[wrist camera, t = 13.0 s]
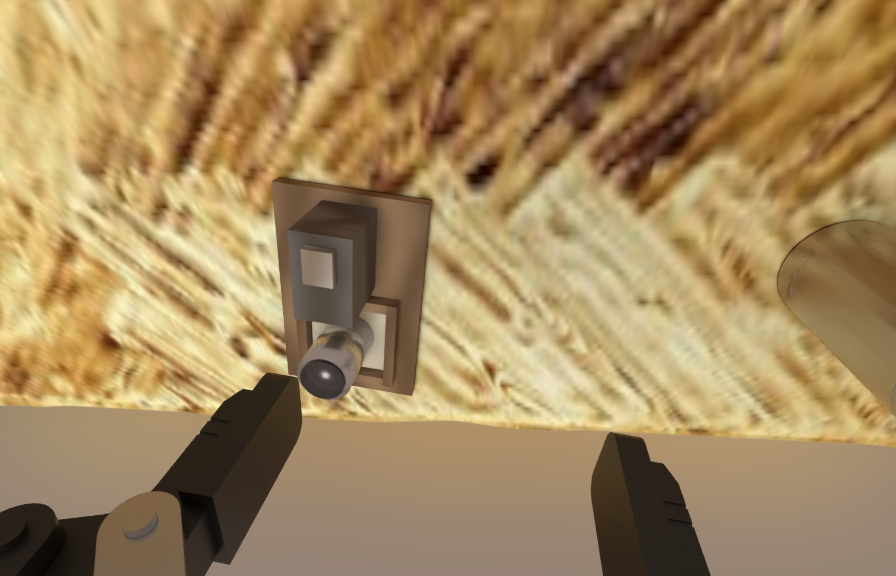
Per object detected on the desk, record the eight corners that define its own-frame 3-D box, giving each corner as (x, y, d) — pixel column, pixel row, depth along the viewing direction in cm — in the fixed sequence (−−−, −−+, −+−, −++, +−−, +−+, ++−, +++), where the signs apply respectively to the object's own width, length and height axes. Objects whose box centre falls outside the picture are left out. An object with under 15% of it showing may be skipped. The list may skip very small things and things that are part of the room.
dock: (431, 200, 40) (410, 241, 32) (414, 388, 51) (395, 452, 43) (277, 177, 41) (222, 212, 33) (293, 367, 52) (253, 426, 44)
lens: (376, 320, 46) (352, 366, 39) (370, 359, 48) (346, 409, 41) (328, 308, 46) (295, 351, 39) (324, 347, 48) (293, 395, 41)
